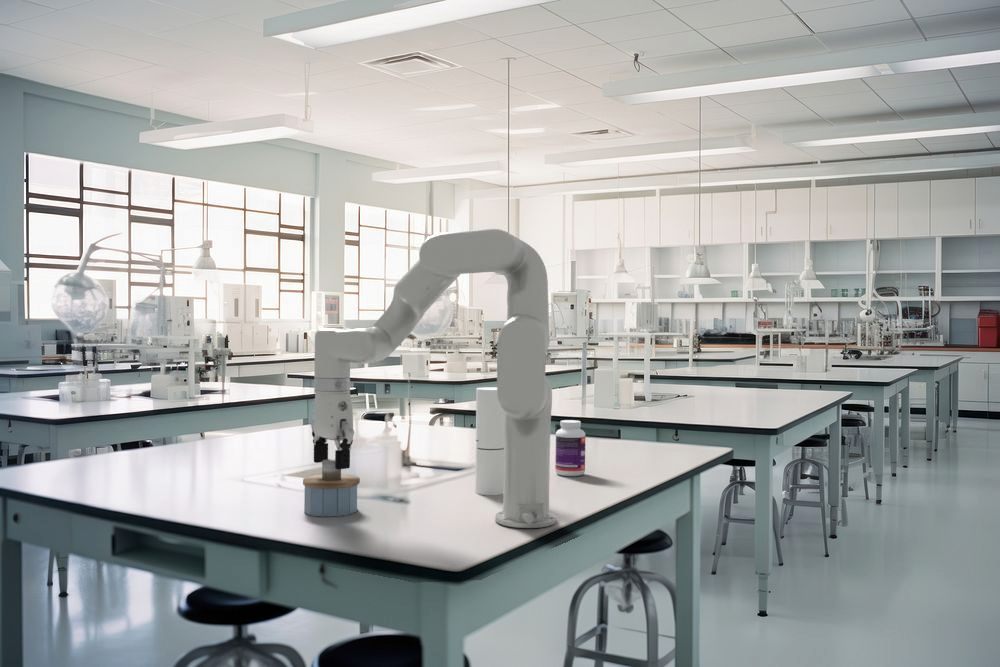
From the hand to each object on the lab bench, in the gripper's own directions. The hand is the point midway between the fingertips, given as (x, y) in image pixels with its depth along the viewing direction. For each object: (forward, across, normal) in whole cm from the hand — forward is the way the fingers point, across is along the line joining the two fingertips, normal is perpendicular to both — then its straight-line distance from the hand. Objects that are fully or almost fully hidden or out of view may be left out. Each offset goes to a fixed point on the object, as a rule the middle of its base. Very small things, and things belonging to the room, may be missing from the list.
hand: (331, 465), depth 177 cm
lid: (+4, 0, 0) cm, 4 cm away
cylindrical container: (+10, -6, -40) cm, 41 cm away
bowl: (+10, 0, 0) cm, 10 cm away
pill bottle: (+10, -1, -71) cm, 72 cm away
